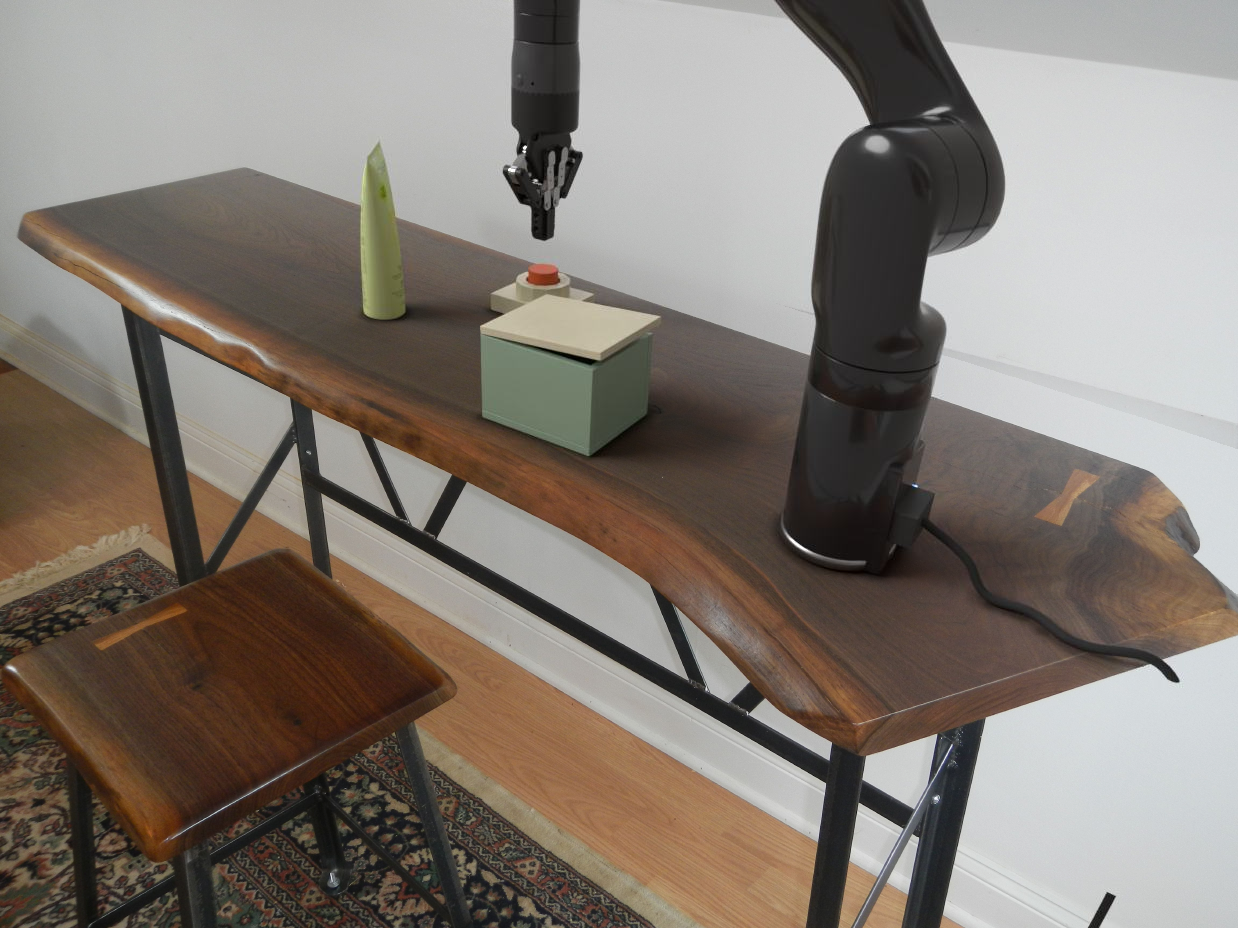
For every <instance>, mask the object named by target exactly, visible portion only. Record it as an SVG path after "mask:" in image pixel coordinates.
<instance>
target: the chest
mask: <svg viewBox="0 0 1238 928" xmlns="http://www.w3.org/2000/svg"><path fill="white" fill-rule="evenodd" d="M653 341H654V333H653V332H650V331H649V332H647V333H646V334H644V335H643V336H641V337H639V338H638V339H636V340H634V341H633V342H631V343H629V344H628V345H626V346H624V347H623V348H621V349H620V350H618V351H616V352H615V353H613V354H611V355H610V356H608V357H606V358H605V359H603V360H602V361H599V360H595V359H590V358H586V357H581V356H577V355H573V354H568V353H564V352H559V351H555V350H551V349H546V348H542V347H537V346H533V345H529V344H524V343H520V342H515V341H511V340H507V339H502V338H498V337H493V336H489V335H485V334H481V333H480V370H481V371H480V372H481V375H480V376H481V407H482V408H481V411H482V412H481V413H482V414H481V415H482V418H484V419H487V420H489V421H492V422H494V423H497V424H500V425H502V426H505V427H508V428H510V429H513V430H515V431H519V432H522V433H524V434H526V435H530V436H533V437H536V438H538V439H540V440H543V441H545V442H548V443H552V444H554V445H557V446H560V447H562V448H565V449H568V450H570V451H573V452H576V453H578V454H581V455H584V456H587V457H590V456H592V455H593V454H595V453H596V452H597V451H599V450H601V448H603V447H604V446H606V445H607V444H609V442H611V441H612V440H614V439H615V438H616V437H618V436H619V435H621V434H622V433H623V432H624V431H626V430H628V429H629V428H631V427H632V426H633V425H634V424H635V423H637V422H638V421H640V420H641V419H642V418H644V417H645V416H646V415H648V405H649V393H650V392H649V391H650V378H651V367H652V354H653Z"/></svg>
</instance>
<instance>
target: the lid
mask: <svg viewBox="0 0 1238 928" xmlns="http://www.w3.org/2000/svg"><path fill="white" fill-rule="evenodd" d="M661 325H662V316H660V315H656V314H650V313H645V312H640V311H634V310H630V309H626V308H625V309H624V308H620V307H614V306H609V305H603V304H600V303H595V302H594V303H589V302H584V301H579V300H573V299H568V298H563V297H558V296H553V295H548V294H546V295H544V296H542V297H540V298H538V299H536V300H534V301H531V302H529V303H527V304H525V305H523V306H521V307H519V308H517V309H515V310H513V311H511V312H508V313H506V314H504V313H503V314H502V315H500V316H498V317H496V318H494V319H492V320H489V321H487V322H486V323H484V324H481V325H479V327H480V328H479V329H480V335H481V334H485V335H489V336H493V337H498V338H502V339H507V340H511V341H515V342H520V343H524V344H529V345H533V346H537V347H542V348H546V349H551V350H555V351H559V352H564V353H568V354H573V355H577V356H581V357H586V358H590V359H595V360H599V361H602V360H603V359H605V358H606V357H608V356H610V355H611V354H613V353H615V352H616V351H618V350H620V349H621V348H623V347H624V346H626V345H628V344H629V343H631V342H633V341H634V340H636V339H638V338H639V337H641V336H643V335H644V334H646V333H647V332H650V331H652V330H654V329H656V328H658V327H659V326H661Z"/></svg>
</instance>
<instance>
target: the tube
mask: <svg viewBox="0 0 1238 928" xmlns="http://www.w3.org/2000/svg"><path fill="white" fill-rule="evenodd" d="M380 140H381V139H377V141H376V143H375V145H374V146H373V148H372V149H371V150H370V152H369V153H368V154H367V155H366V162H365V165H364V168H363V174H362V175H363V176H362V182H361V184H362V185H361V203H360V206H361V207H360V267H361V288H362V307H363V314H364V315H365V316H367V317H368V318H371V319H373V320H379V321H380V320H381V321H388V320H394V319H398V318H400V317H402V316H403V315H404V314H405V313H406V299H405V296H406V295H405V286H404V284H405V283H404V275H403V265H402V255H401V248H400V247H401V246H400V237H399V231H398V230H399V229H398V224H397V216H396V210H395V204H394V198H393V192H392V188H391V187H392V186H391V183H390V182H391V181H390V177H389V171H388V167H387V162H386V159H385V155H384V152H383V149H382V146H381V141H380Z"/></svg>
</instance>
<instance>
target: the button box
mask: <svg viewBox="0 0 1238 928" xmlns="http://www.w3.org/2000/svg"><path fill="white" fill-rule="evenodd" d="M546 294H548V295H553V296H558V297H563V298H568V299H573V300H579V301H584V302H589V303H594V304H595V297H596V296H595V293H592V292H589V291H585V290H583V289H578V288H574V287H571V278H570V277H569V276H568V275H566V274H565V273H562V272H558V284H555V285H549V286H540V285H534V284H530V283H529V282H528V271H525V272H522V273H520V274H518V275H517V276H516V279H515V282H513V283H510V284H508V285H506V286H504V287H502V288H499V289H497V290H495V291H493V292H491V293H490V310H492V311H494V312H498V313H500V314H501V313H502V314H503V315H504V314H506V313H508V312H511V311H513V310H515V309H517V308H519V307H521V306H523V305H525V304H527V303H529V302H531V301H534V300H536V299H538V298H540V297H542V296H544V295H546Z"/></svg>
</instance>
